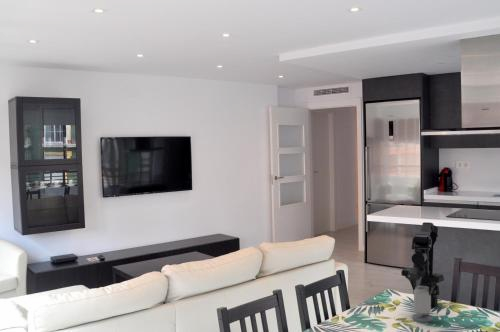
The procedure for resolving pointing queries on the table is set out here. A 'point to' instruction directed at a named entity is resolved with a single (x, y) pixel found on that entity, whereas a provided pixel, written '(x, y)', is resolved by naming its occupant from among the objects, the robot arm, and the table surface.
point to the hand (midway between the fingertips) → (422, 293)
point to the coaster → (422, 317)
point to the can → (422, 300)
